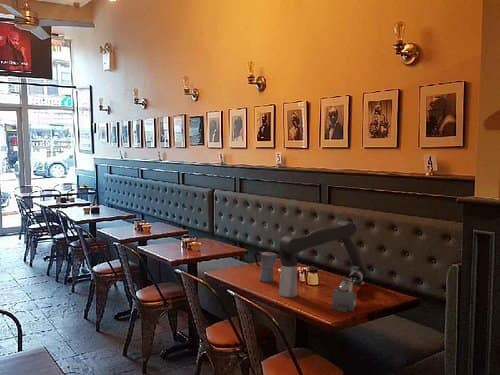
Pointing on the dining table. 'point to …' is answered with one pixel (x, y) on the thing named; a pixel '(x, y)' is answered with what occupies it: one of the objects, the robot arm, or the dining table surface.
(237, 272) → the dining table surface
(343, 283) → the block
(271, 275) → the moka pot
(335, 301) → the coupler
